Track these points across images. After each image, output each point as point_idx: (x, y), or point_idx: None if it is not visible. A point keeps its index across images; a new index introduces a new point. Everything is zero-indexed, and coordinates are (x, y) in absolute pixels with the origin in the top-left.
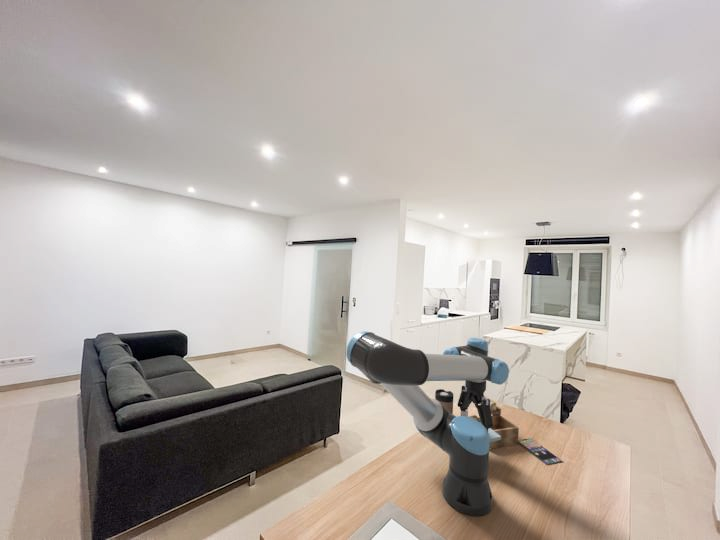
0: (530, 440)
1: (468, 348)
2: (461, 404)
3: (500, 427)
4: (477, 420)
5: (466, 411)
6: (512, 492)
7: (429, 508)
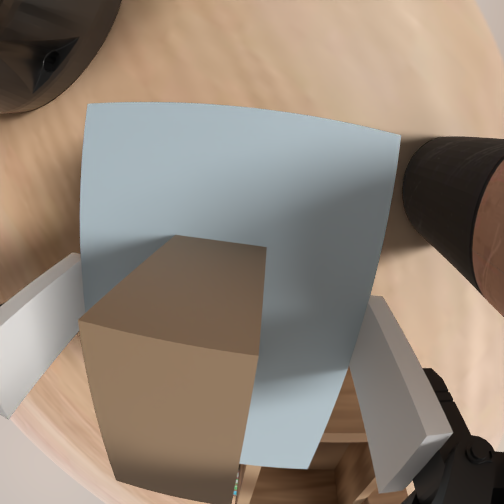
0: (234, 491)
1: None
2: (498, 501)
3: (325, 480)
4: (111, 445)
5: (392, 479)
6: (9, 221)
7: None
